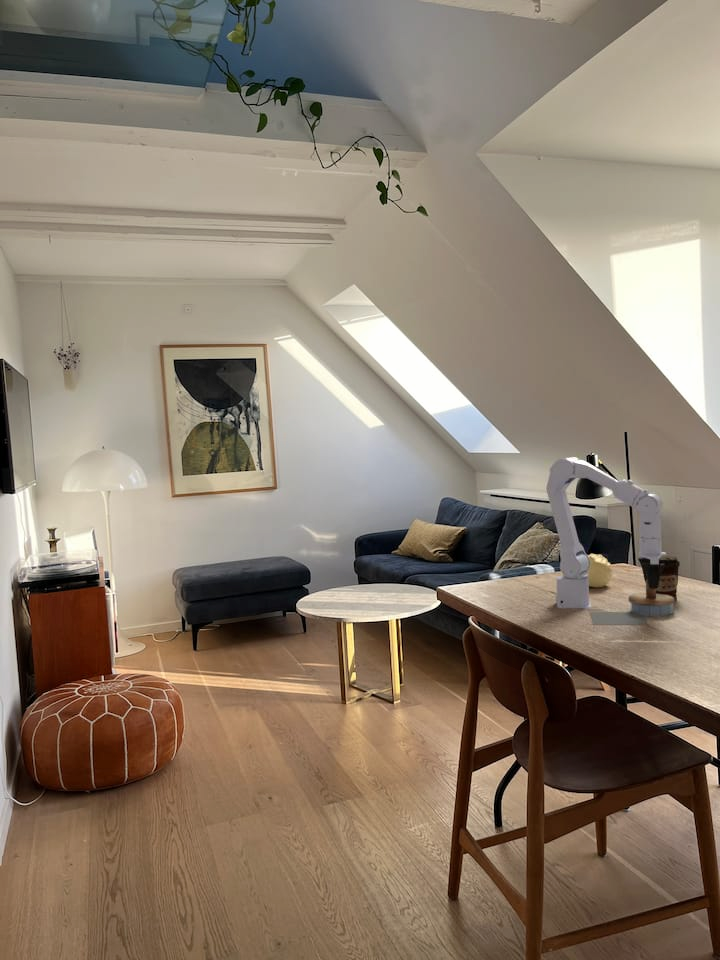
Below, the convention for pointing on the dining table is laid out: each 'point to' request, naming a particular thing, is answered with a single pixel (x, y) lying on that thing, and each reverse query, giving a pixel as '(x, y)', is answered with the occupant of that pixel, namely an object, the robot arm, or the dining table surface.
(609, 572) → the sculpture
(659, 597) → the lid
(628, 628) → the dining table surface
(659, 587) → the coffee cup
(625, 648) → the dining table surface
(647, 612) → the dish
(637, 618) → the plate
